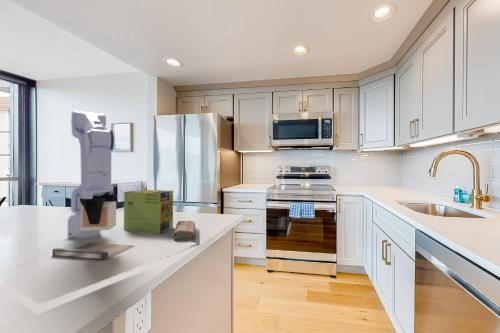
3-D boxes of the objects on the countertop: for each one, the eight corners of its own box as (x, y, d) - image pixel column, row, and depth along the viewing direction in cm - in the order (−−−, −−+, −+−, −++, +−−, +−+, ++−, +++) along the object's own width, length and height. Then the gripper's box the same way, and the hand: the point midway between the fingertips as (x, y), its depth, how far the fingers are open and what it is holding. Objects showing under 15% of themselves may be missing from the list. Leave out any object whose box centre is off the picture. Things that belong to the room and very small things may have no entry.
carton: (89, 226, 71) (89, 201, 71) (115, 225, 72) (116, 201, 72) (80, 231, 66) (80, 204, 66) (108, 230, 67) (108, 204, 67)
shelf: (51, 260, 66) (51, 249, 66) (89, 246, 78) (89, 236, 78) (104, 265, 63) (104, 253, 63) (135, 249, 75) (135, 239, 75)
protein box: (160, 234, 92) (160, 192, 92) (123, 232, 94) (123, 191, 94) (173, 227, 102) (174, 190, 102) (139, 226, 105) (140, 189, 105)
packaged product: (172, 220, 96) (198, 219, 98) (172, 232, 96) (198, 231, 98) (166, 232, 79) (198, 230, 81) (166, 247, 79) (198, 245, 81)
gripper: (95, 172, 75) (95, 216, 75) (69, 173, 61) (68, 228, 61) (120, 172, 76) (120, 216, 76) (100, 173, 62) (99, 227, 62)
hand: (99, 221), depth 69 cm, fingers closed on carton, 5 cm apart
